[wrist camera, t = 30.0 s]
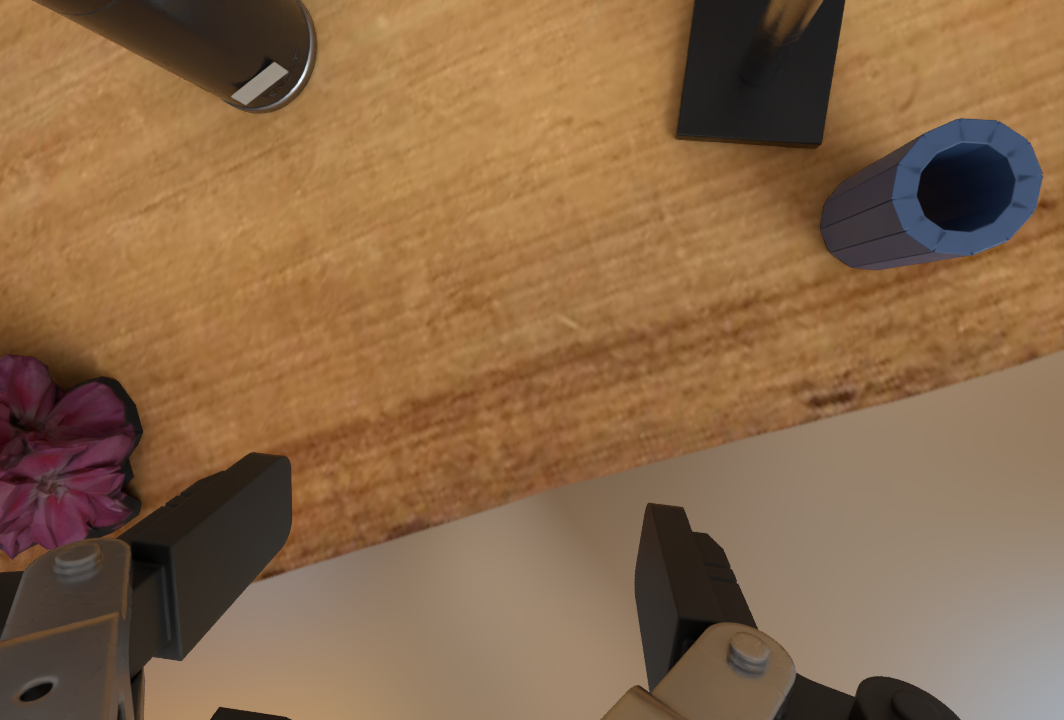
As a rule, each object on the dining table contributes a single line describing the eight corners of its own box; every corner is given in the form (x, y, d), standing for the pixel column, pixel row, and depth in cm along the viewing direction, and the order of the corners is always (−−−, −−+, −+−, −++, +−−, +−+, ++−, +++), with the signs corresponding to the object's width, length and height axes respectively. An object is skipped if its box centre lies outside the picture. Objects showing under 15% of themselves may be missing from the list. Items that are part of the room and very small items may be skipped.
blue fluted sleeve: (813, 264, 36) (882, 247, 27) (830, 167, 36) (906, 114, 26) (915, 274, 36) (1025, 260, 26) (934, 175, 35) (1055, 123, 25)
